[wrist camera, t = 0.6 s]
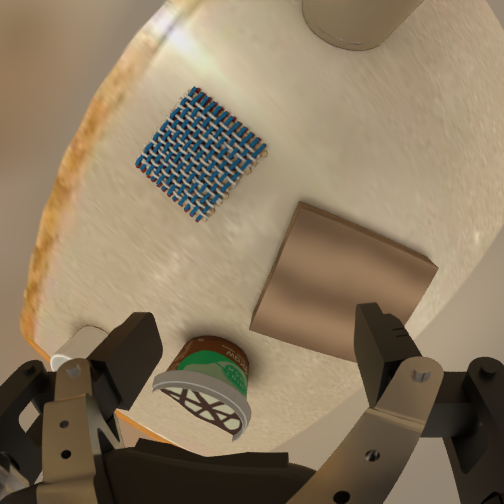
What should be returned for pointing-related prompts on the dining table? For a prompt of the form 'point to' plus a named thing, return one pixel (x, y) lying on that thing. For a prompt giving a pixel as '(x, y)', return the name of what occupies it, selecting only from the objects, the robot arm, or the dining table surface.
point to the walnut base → (336, 282)
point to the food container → (210, 382)
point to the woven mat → (199, 154)
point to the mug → (78, 346)
